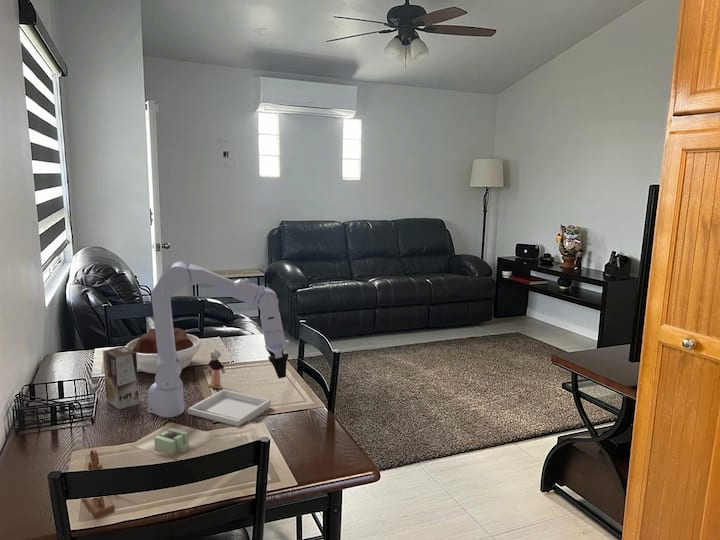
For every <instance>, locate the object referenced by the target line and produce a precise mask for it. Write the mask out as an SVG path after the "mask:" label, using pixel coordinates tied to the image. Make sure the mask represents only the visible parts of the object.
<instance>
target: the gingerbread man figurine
mask: <svg viewBox="0 0 720 540" xmlns="http://www.w3.org/2000/svg"><path fill="white" fill-rule="evenodd" d="M89 452H90V453H89V457H90V461H89V462H88V464H87V467H88V469H87V470H100V469H103V468H104V467H103V465H102V463H100V459H99V455H98V451H97V450H96V449H91V450H90V451H89ZM103 470H104V469H103ZM82 501H83V502H84V504H85V505H86V506H87V509H88V510H89V512H90V513H91V514H92V515H93V517H94V518H97V517H101V516H103V515H104V514H107V513H110V512H112V511H115V507H116V506H115V504H114V503H113V502H112V500H111V499H110V497H109V496H108V497H100V498H93V499H84V500H83V499H82Z"/></svg>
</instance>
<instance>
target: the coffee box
mask: <svg viewBox="0 0 720 540" xmlns="http://www.w3.org/2000/svg"><path fill="white" fill-rule="evenodd" d="M102 355H103V366H104V367H103V371H104V381H105V394H106V402H107V403H109V404H110V405H112V406H113V407H114V408H116V409H118V410H122V409H125V408H128V407H133V406H137V405H140V397H139V395H140V394H139V381H138V367H137V357H136V352H134V351H132V350H130V349H128V348H126V346H124V345H123V346H118V347H113V348H110V349H106V350H102Z"/></svg>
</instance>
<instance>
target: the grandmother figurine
mask: <svg viewBox="0 0 720 540" xmlns="http://www.w3.org/2000/svg"><path fill="white" fill-rule="evenodd" d="M209 354H210V359H211V360H209V362H208V364H207V370H210V374H211V375H210V383H209V384H208V385H207V387H208V388H213V389H214V388H219V387H220V386H222V384H221V374H225V373H226V371H225V366H224V365H223V363H222V362H221V361H220V360H219V358H220V357H222V353H221V352H220V351H219V350H218V349H211V350H210V351H209ZM220 371H221V373H220ZM220 388H221V387H220ZM220 388H219V389H220Z"/></svg>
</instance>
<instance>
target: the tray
mask: <svg viewBox="0 0 720 540" xmlns="http://www.w3.org/2000/svg"><path fill="white" fill-rule="evenodd" d="M269 407H271V408H272V400H271V399H268V398H264V397H259V396H256V395H251V394H245V393H242V392H238V391H233V390H228V389H225V388H224V389H223V388H222V389H221V390H219V391H217V392H215V393H214V394H212V395H210V396H209V397H208V396H207V398H204V399H203V400H200V401H199V402H197V403H195V404H193V405H192V406H190V407H188V408H187V415H192V416H196V417H200V418H203V419H207V420H212V421H215V422H218V423H223V424H227V425H231V426H234V427H240V426H241V425H243V424H244V423H245V422H249V423H251V422H252V421H253V420H255V419H256V418H258V417H259V416H260V415H259V414H261V413H262V412H263V411H265V410H267V409H268V408H269ZM268 410H269V409H268ZM268 410H267V411H268ZM265 412H266V411H265ZM262 414H263V413H262ZM262 414H261V415H262ZM258 415H259V416H258ZM257 416H258V417H257ZM254 418H255V419H254ZM251 420H252V421H251Z"/></svg>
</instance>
